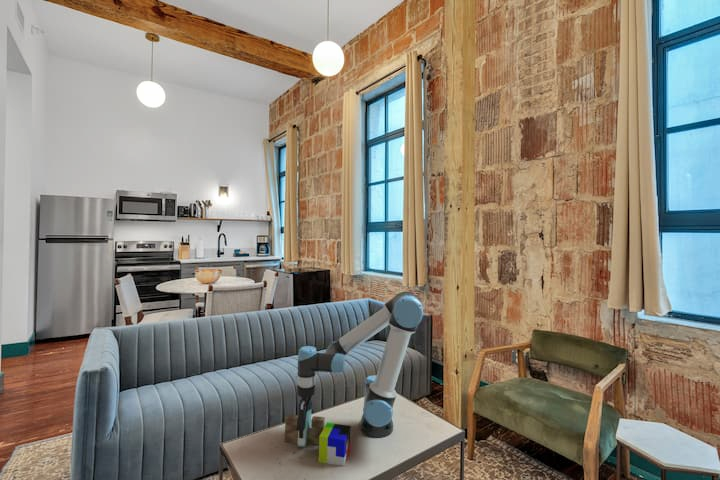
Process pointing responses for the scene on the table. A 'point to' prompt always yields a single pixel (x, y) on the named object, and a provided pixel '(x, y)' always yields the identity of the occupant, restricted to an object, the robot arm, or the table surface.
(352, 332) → the robot arm
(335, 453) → the puzzle toy
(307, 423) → the notched teal block
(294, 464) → the table surface
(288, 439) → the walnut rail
